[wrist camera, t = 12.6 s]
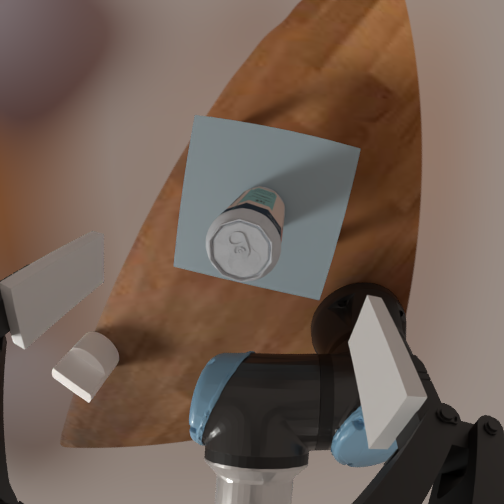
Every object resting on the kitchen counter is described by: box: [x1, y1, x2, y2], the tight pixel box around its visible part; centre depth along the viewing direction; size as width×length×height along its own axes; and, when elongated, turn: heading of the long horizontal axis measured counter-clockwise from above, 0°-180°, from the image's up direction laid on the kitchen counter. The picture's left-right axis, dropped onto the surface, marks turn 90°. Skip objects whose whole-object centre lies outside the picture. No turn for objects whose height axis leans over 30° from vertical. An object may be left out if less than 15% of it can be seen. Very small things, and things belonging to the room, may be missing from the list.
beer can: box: [206, 186, 285, 282], centre depth 24 cm, size 5×5×12 cm
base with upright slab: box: [52, 332, 119, 402], centre depth 50 cm, size 9×9×12 cm
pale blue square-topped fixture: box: [174, 115, 361, 300], centre depth 35 cm, size 16×16×12 cm
